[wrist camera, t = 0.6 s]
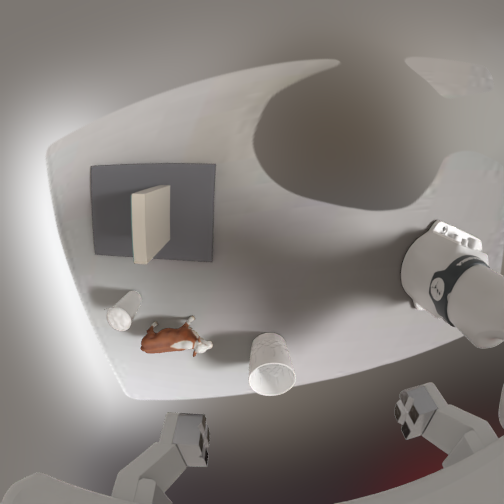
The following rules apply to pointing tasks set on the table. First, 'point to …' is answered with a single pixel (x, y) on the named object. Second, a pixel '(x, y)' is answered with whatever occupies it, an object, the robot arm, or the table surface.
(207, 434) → the robot arm
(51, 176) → the table surface
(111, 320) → the milkshake
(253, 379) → the white cup
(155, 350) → the bull figurine
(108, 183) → the mat
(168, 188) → the tile
